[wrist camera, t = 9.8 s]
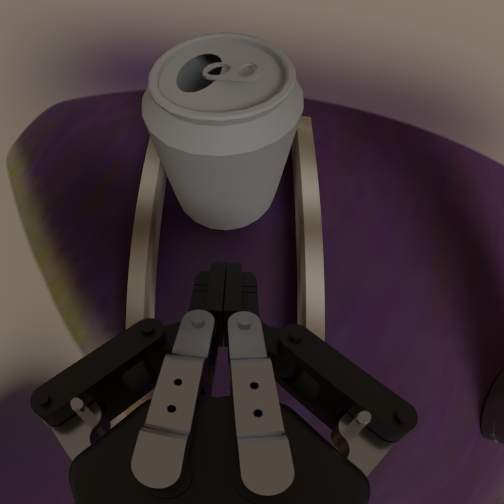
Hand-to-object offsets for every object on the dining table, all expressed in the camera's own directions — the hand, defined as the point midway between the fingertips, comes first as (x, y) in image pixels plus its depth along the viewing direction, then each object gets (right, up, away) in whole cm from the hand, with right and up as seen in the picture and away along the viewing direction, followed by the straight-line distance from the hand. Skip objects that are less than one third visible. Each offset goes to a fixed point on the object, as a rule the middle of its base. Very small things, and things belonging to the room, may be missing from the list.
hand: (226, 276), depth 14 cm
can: (-1, +6, +7) cm, 9 cm away
